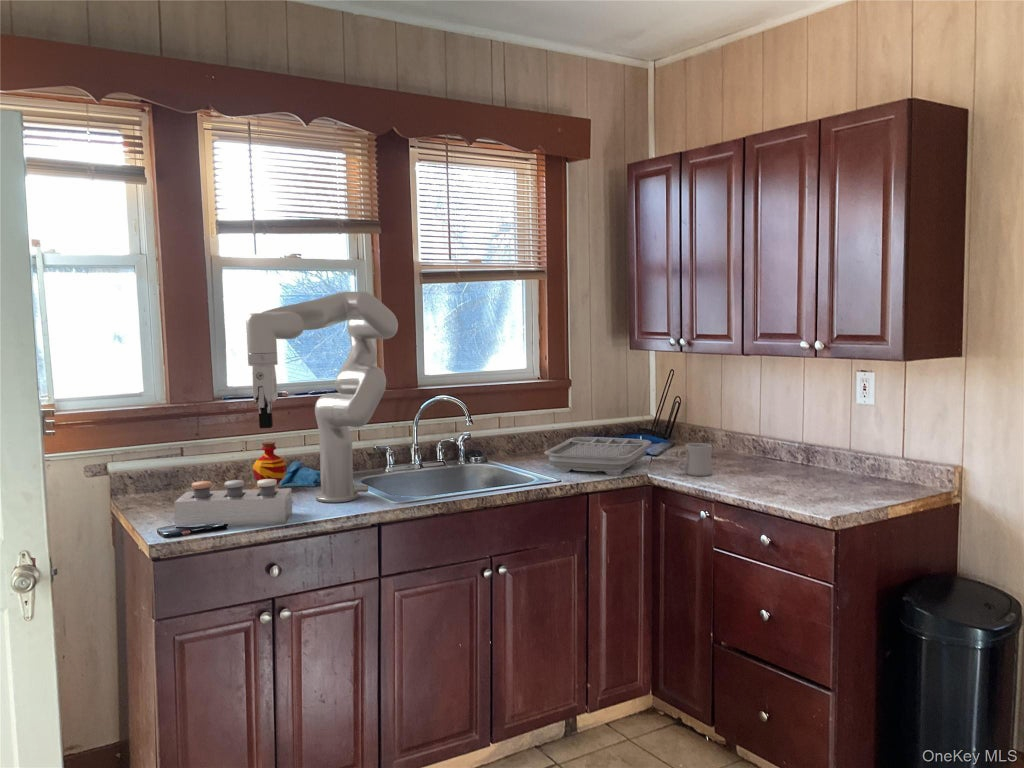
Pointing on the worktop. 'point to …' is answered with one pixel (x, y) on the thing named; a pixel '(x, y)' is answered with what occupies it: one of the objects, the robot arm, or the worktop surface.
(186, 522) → the mount
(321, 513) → the worktop surface
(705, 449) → the mug
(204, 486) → the knob
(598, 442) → the dish rack
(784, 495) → the worktop surface
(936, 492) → the worktop surface
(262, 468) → the potion bottle
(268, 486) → the knob
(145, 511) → the worktop surface
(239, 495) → the knob mid
